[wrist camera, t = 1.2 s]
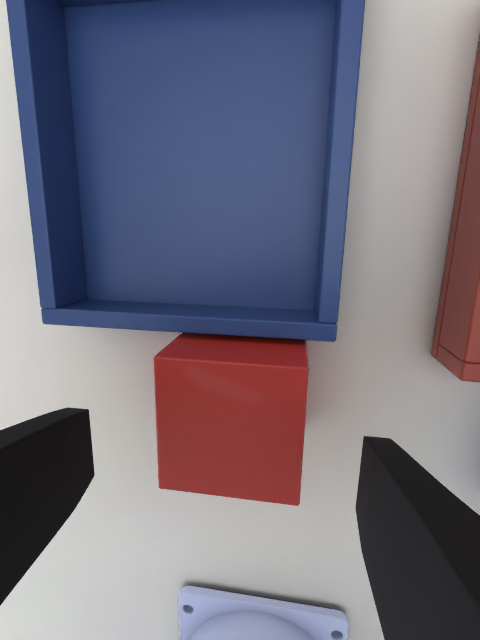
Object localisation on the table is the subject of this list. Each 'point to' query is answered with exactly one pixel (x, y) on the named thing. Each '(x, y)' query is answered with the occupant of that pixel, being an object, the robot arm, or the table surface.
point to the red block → (232, 416)
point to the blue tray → (188, 160)
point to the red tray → (463, 260)
